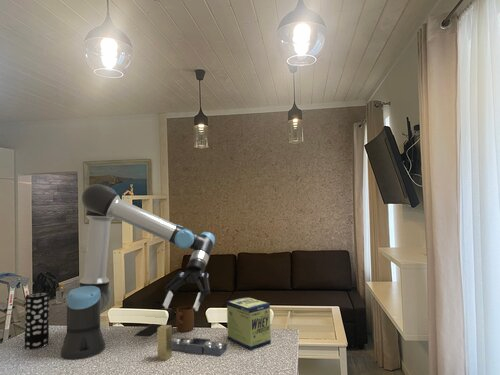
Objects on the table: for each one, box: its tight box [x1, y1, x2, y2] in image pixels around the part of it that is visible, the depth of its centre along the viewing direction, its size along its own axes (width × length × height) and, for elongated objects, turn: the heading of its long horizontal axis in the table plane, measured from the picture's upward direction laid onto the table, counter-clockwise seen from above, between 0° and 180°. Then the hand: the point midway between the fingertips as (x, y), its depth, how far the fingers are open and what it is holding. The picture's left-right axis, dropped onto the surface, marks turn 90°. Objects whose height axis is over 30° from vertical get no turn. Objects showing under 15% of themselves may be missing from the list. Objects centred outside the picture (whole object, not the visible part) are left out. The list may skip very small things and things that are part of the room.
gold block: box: [157, 324, 173, 362], centre depth 125 cm, size 4×4×11 cm
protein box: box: [226, 296, 272, 351], centre depth 139 cm, size 10×16×16 cm
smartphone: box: [133, 323, 163, 339], centre depth 153 cm, size 8×1×15 cm
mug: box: [175, 305, 195, 333], centre depth 153 cm, size 12×8×9 cm, turn 166°
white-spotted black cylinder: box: [23, 292, 50, 350], centre depth 141 cm, size 8×8×20 cm
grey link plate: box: [172, 337, 228, 357], centre depth 131 cm, size 21×7×3 cm, turn 71°
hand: (179, 308), depth 135 cm, fingers open, 13 cm apart
